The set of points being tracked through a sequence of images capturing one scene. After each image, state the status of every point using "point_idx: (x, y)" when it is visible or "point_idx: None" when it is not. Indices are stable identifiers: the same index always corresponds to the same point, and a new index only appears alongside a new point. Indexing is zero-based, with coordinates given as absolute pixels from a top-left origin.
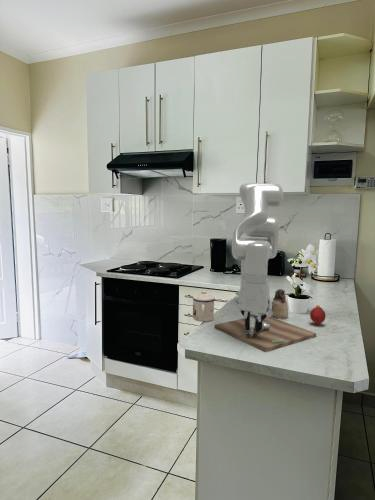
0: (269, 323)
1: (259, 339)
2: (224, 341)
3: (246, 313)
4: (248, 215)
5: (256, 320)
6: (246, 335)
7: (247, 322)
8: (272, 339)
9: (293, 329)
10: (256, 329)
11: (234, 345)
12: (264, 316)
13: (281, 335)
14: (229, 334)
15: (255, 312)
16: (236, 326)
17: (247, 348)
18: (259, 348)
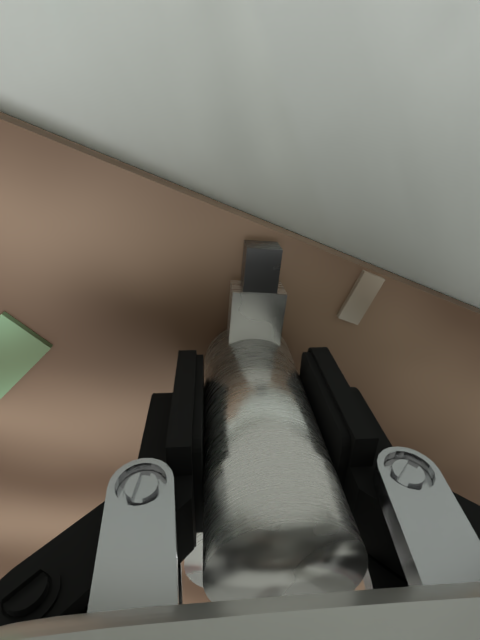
0: (196, 582)
1: (148, 305)
2: (469, 105)
3: (430, 541)
4: None
5: (209, 480)
6: (272, 246)
7: (336, 410)
8: (55, 378)
9: None
10: (190, 369)
11: (337, 59)
12: (18, 594)
13: (52, 488)
14: (458, 300)
15: (172, 621)
16: (441, 446)
17: (179, 68)
18: (66, 140)
